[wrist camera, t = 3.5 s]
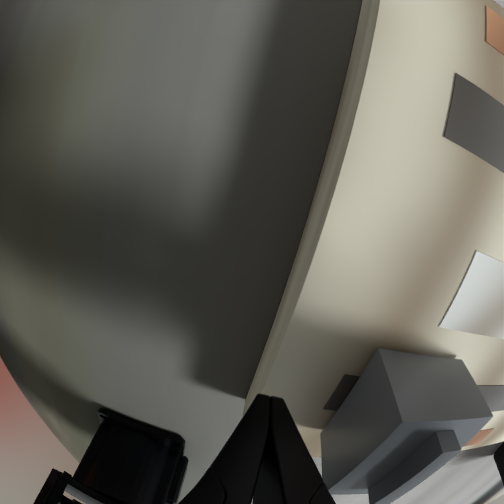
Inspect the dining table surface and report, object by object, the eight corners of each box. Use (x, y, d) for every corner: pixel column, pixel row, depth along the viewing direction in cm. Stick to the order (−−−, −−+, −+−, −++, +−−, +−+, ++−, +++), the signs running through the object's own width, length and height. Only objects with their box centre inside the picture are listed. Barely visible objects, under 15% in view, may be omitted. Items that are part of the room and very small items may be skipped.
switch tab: (320, 433, 10) (323, 512, 7) (378, 347, 8) (409, 446, 5) (397, 436, 10) (412, 504, 7) (461, 359, 8) (501, 433, 5)
